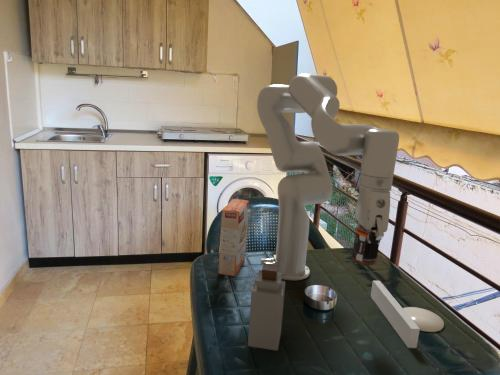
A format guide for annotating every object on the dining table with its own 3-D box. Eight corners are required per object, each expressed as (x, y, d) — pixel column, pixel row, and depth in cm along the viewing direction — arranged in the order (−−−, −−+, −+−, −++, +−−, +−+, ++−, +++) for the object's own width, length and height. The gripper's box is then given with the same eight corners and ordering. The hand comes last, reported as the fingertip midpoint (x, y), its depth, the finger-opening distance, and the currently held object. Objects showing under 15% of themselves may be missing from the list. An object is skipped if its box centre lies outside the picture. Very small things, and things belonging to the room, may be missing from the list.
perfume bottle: (277, 350, 91) (284, 275, 87) (247, 345, 92) (252, 271, 88) (280, 333, 97) (286, 263, 93) (252, 329, 98) (257, 259, 94)
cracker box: (236, 277, 125) (240, 211, 120) (217, 274, 126) (220, 209, 121) (246, 259, 138) (250, 199, 133) (228, 257, 139) (231, 197, 134)
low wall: (408, 348, 95) (411, 328, 94) (370, 296, 118) (372, 280, 117) (416, 348, 95) (419, 328, 94) (377, 296, 118) (379, 280, 117)
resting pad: (409, 331, 101) (410, 330, 101) (391, 308, 112) (391, 306, 112) (452, 332, 102) (452, 330, 102) (430, 308, 113) (430, 307, 113)
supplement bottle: (361, 268, 98) (368, 223, 96) (346, 257, 104) (352, 215, 101) (381, 265, 101) (388, 221, 98) (365, 255, 106) (371, 213, 103)
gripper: (406, 192, 89) (393, 268, 94) (377, 174, 106) (367, 239, 110) (373, 190, 89) (362, 267, 93) (348, 172, 105) (340, 238, 110)
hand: (365, 251), depth 102 cm, fingers closed on supplement bottle, 6 cm apart
